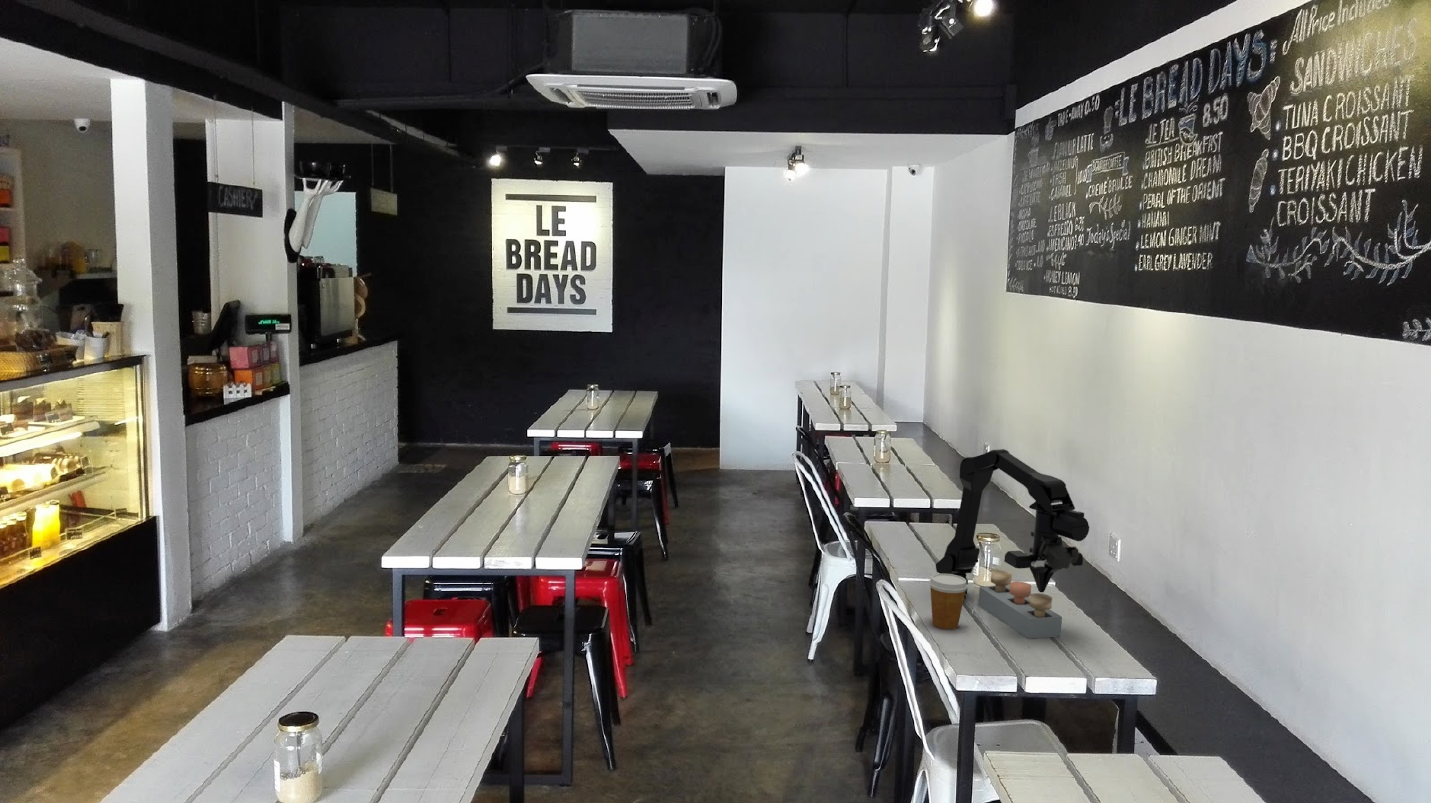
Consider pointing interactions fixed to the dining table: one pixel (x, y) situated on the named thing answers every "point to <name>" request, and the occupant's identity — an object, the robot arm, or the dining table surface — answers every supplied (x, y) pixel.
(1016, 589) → the knob middle
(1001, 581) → the knob
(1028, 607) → the grey peg holder block
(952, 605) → the disposable coffee cup
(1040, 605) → the knob
